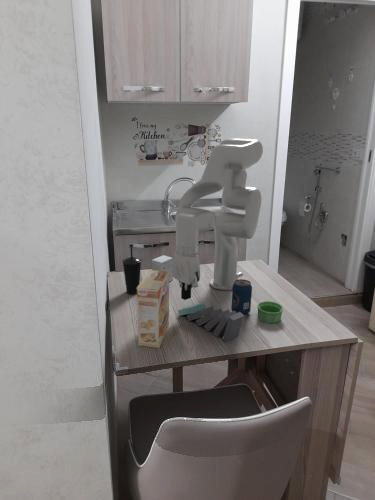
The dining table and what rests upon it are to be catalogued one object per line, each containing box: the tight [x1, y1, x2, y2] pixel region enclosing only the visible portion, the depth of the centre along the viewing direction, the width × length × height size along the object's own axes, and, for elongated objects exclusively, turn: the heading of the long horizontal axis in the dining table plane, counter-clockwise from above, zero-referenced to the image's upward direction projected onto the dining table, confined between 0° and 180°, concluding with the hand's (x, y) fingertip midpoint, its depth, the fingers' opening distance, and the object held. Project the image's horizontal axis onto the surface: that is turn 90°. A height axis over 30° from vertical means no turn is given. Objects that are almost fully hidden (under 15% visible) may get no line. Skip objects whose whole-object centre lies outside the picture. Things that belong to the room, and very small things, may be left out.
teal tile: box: [177, 302, 206, 316], centre depth 130 cm, size 5×2×9 cm
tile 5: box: [212, 310, 236, 337], centre depth 119 cm, size 5×2×9 cm, turn 132°
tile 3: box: [195, 307, 224, 327], centre depth 124 cm, size 5×2×9 cm
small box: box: [151, 254, 174, 282], centre depth 160 cm, size 8×6×10 cm
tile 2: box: [186, 305, 215, 322], centre depth 127 cm, size 5×2×9 cm
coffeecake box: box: [136, 269, 170, 349], centre depth 117 cm, size 15×7×20 cm, turn 171°
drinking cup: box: [121, 244, 143, 295], centre depth 147 cm, size 8×8×20 cm
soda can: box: [230, 278, 253, 317], centre depth 133 cm, size 7×7×12 cm
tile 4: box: [203, 309, 231, 332], centre depth 121 cm, size 5×2×9 cm
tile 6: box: [222, 312, 245, 344], centre depth 116 cm, size 5×2×9 cm, turn 132°
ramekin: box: [256, 300, 284, 324], centre depth 131 cm, size 9×9×4 cm
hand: (186, 298), depth 131 cm, fingers closed
